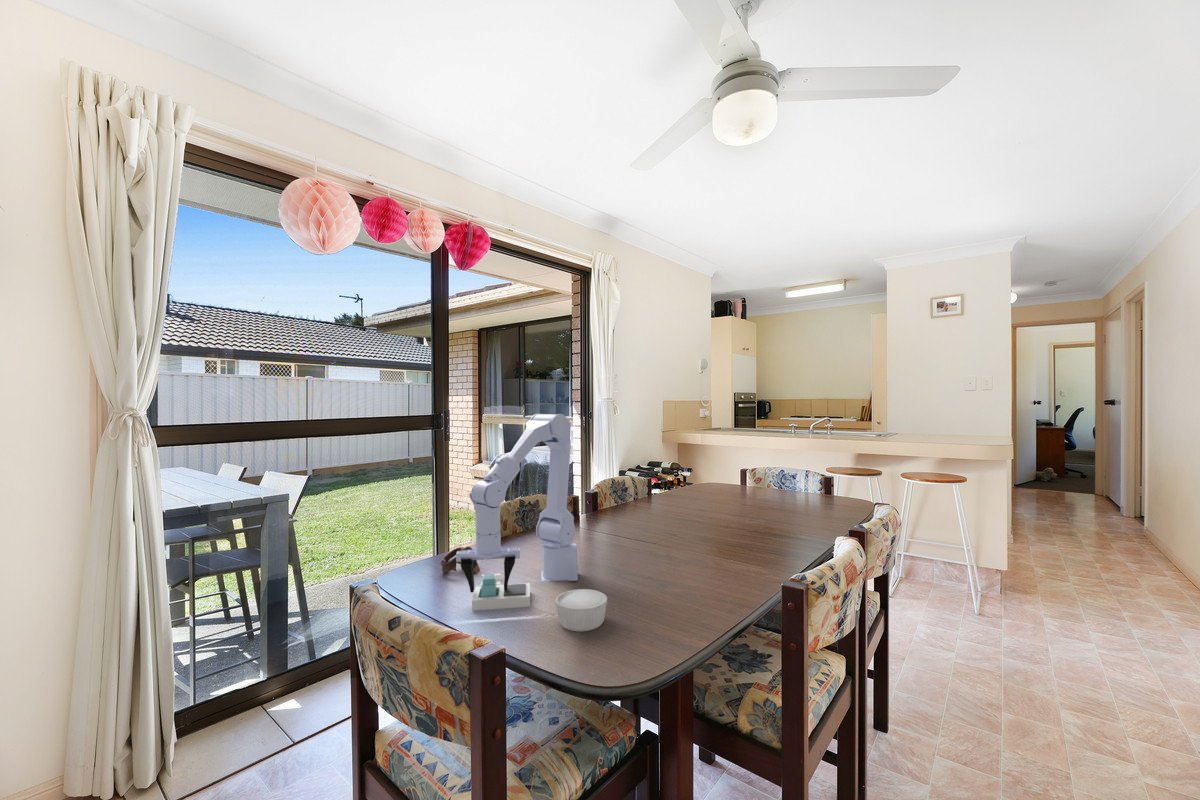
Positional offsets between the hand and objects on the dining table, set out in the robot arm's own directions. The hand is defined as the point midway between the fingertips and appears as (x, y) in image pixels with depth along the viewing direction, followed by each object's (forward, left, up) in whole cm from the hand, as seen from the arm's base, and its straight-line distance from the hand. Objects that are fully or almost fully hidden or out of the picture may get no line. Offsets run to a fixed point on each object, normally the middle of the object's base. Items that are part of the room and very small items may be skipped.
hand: (489, 589), depth 120 cm
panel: (-3, 0, -3) cm, 5 cm away
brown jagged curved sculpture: (+9, -23, -4) cm, 25 cm away
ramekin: (-20, +13, -4) cm, 25 cm away
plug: (0, 0, -3) cm, 4 cm away
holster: (0, -11, -3) cm, 12 cm away
